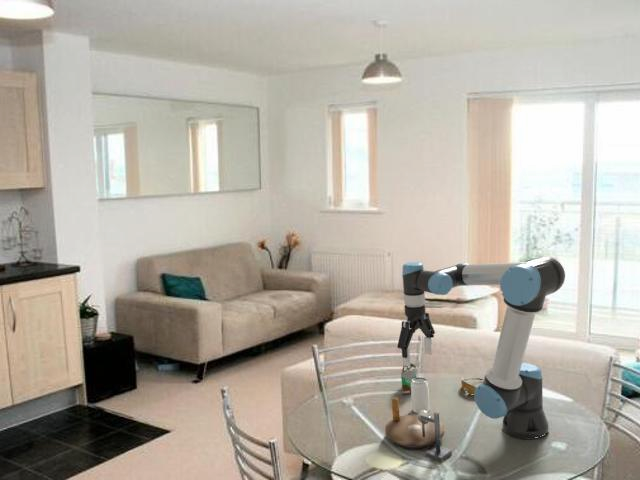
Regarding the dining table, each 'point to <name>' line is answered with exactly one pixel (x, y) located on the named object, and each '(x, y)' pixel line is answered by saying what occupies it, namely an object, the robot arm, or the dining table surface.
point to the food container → (408, 377)
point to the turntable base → (415, 446)
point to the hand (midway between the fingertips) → (417, 359)
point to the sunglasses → (469, 385)
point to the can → (419, 395)
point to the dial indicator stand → (437, 450)
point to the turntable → (409, 429)
